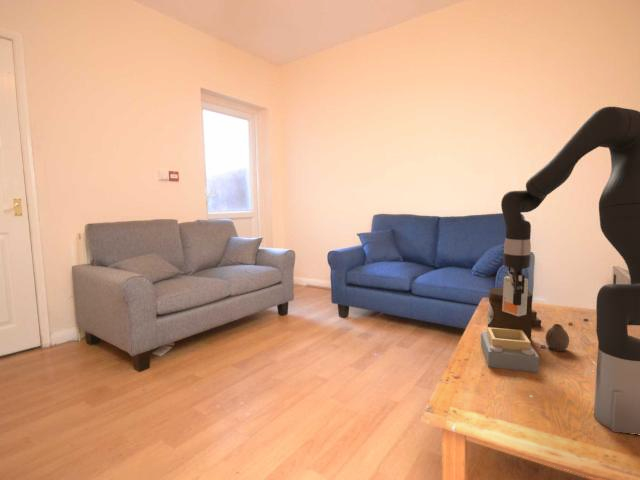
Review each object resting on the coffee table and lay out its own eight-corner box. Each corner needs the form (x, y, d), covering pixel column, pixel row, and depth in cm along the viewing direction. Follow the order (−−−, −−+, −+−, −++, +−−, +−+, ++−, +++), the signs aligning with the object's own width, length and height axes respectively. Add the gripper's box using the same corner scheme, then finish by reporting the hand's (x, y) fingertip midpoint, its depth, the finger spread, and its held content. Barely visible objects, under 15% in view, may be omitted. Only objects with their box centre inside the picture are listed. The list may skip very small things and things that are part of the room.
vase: (572, 353, 118) (574, 329, 117) (550, 352, 119) (551, 327, 118) (562, 345, 125) (564, 322, 124) (541, 344, 126) (542, 321, 125)
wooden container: (495, 327, 143) (497, 276, 141) (536, 337, 133) (538, 281, 130) (481, 337, 133) (482, 282, 131) (523, 348, 123) (526, 288, 120)
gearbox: (538, 372, 106) (539, 347, 105) (488, 366, 110) (488, 342, 109) (523, 348, 123) (524, 327, 122) (480, 344, 127) (481, 323, 126)
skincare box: (501, 311, 116) (503, 276, 115) (510, 309, 118) (511, 275, 116) (518, 316, 111) (520, 280, 109) (527, 314, 112) (529, 279, 111)
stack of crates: (536, 319, 154) (537, 304, 153) (556, 332, 139) (557, 315, 138) (501, 319, 155) (502, 304, 155) (517, 331, 140) (517, 315, 140)
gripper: (535, 256, 104) (532, 309, 106) (525, 249, 117) (522, 296, 119) (507, 255, 106) (505, 307, 108) (500, 248, 120) (498, 294, 122)
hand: (514, 301), depth 114 cm, fingers closed on skincare box, 7 cm apart
